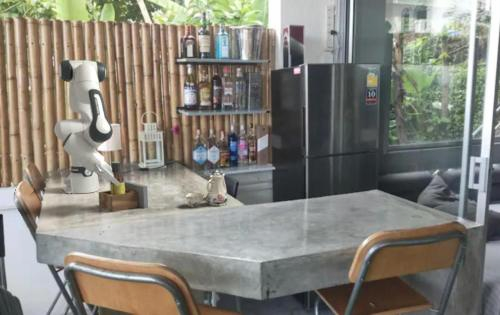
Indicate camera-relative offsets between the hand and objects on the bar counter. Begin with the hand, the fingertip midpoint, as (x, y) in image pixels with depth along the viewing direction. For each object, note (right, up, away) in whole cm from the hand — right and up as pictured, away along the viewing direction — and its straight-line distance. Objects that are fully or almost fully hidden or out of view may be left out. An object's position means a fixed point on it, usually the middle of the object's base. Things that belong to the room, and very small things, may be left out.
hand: (118, 182), depth 197 cm
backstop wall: (+5, -11, +7) cm, 13 cm away
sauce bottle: (-1, -10, +1) cm, 10 cm away
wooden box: (-1, -11, +1) cm, 11 cm away
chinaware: (+42, -11, +8) cm, 44 cm away
